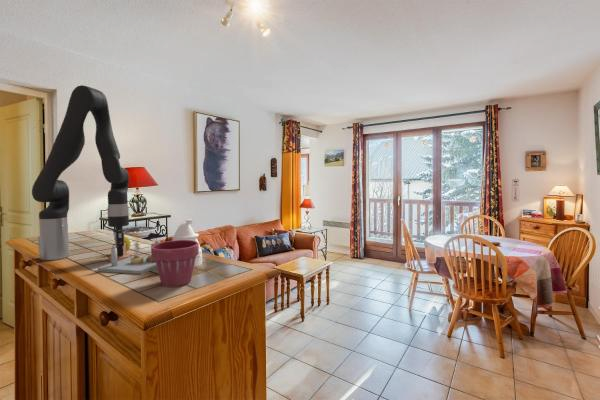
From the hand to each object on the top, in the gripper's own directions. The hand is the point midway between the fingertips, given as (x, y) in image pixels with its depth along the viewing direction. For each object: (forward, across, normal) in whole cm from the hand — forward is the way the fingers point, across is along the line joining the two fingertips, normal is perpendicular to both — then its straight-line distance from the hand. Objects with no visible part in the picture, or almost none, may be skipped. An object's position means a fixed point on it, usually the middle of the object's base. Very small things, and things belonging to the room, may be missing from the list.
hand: (119, 254), depth 126 cm
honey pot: (+2, -23, -21) cm, 31 cm away
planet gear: (+2, 0, 0) cm, 2 cm away
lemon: (+2, +11, -2) cm, 11 cm away
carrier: (+2, -15, -5) cm, 16 cm away
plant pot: (+2, -43, -14) cm, 45 cm away
